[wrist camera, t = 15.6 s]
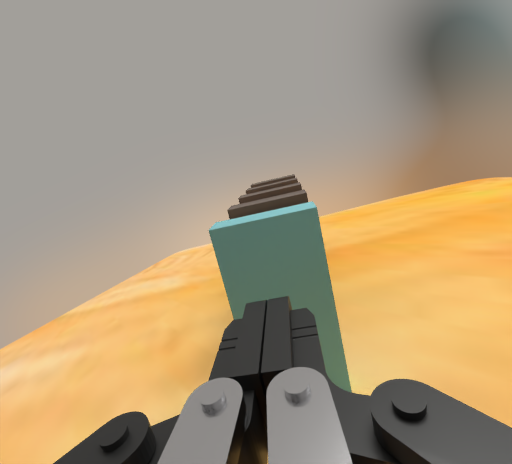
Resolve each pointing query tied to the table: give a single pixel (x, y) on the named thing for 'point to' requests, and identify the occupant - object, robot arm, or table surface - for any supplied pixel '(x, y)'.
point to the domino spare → (282, 271)
